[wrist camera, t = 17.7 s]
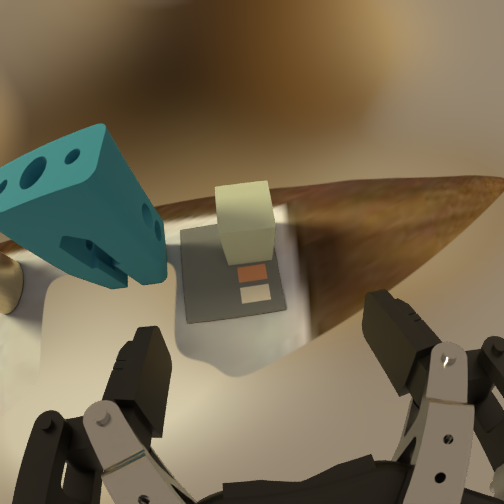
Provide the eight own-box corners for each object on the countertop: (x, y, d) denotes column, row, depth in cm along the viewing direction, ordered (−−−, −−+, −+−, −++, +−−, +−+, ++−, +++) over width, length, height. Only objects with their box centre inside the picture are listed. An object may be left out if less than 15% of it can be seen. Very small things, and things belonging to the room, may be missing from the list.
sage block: (228, 265, 32) (218, 234, 24) (224, 226, 34) (214, 186, 26) (272, 260, 32) (275, 226, 24) (265, 221, 34) (267, 180, 26)
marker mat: (187, 323, 30) (186, 323, 30) (180, 230, 34) (180, 230, 34) (285, 309, 30) (285, 309, 30) (268, 217, 34) (268, 216, 34)
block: (179, 240, 34) (108, 120, 15) (181, 280, 32) (94, 178, 13) (96, 255, 33) (-4, 169, 15) (95, 291, 31) (-21, 222, 13)
